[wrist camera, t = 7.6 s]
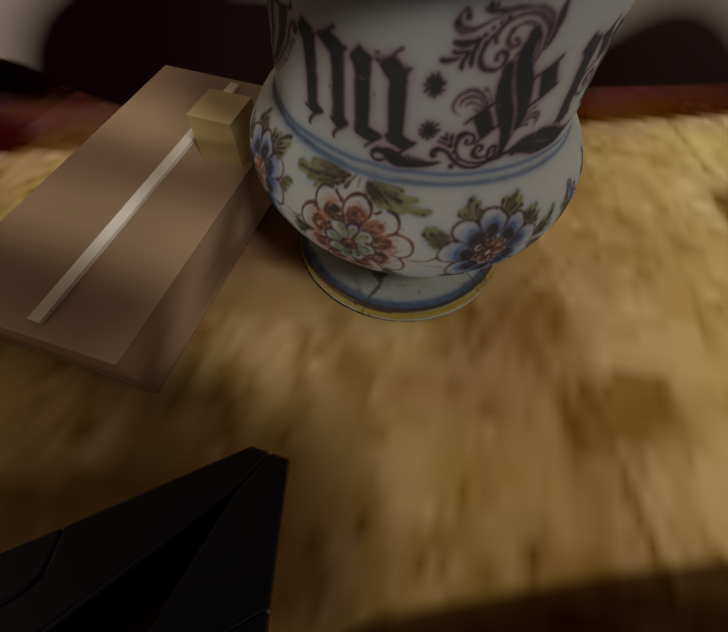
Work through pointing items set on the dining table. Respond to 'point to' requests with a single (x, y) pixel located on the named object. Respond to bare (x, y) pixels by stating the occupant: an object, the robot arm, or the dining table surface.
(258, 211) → the brown rectangular block
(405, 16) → the apothecary jar
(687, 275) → the dining table surface
